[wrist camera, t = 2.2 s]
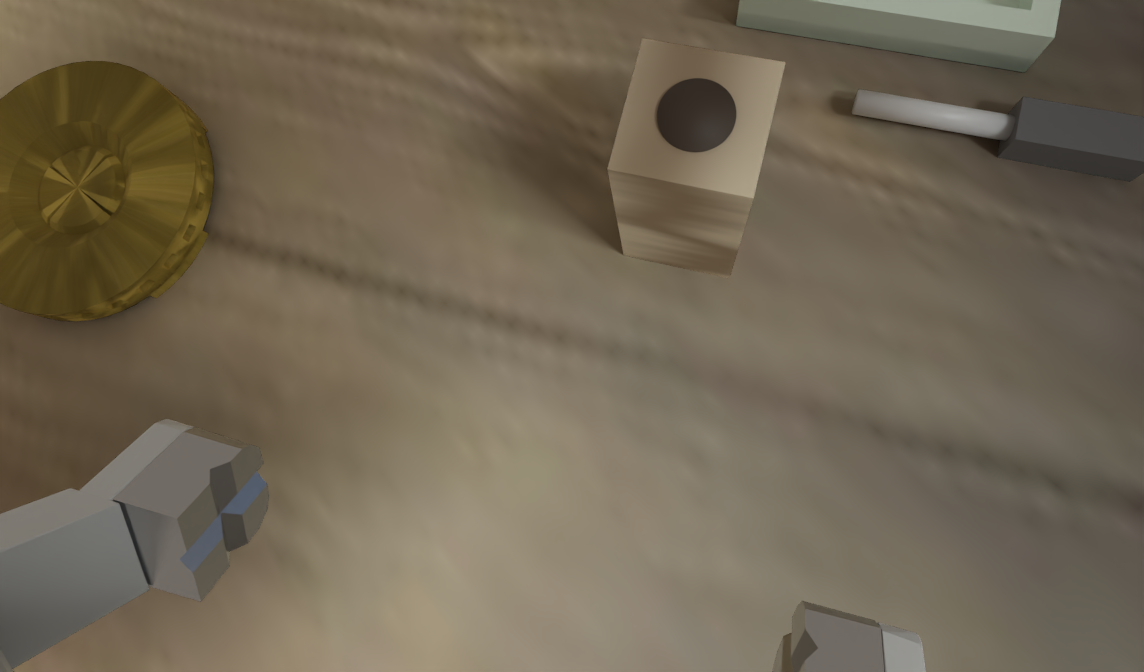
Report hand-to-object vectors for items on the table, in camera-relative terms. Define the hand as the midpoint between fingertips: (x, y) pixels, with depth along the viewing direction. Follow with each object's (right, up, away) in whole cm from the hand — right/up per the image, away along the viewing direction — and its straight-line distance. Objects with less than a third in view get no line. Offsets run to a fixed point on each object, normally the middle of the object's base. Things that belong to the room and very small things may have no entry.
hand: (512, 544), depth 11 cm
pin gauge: (+19, +11, +20) cm, 30 cm away
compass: (-21, +9, +25) cm, 34 cm away
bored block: (+6, +8, +21) cm, 23 cm away
